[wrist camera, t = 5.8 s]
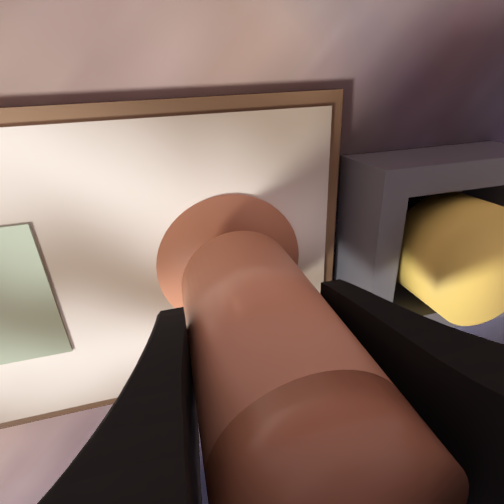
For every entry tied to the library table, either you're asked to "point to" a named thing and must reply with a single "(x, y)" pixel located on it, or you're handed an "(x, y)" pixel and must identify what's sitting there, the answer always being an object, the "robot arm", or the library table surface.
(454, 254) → the button
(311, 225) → the colouring board
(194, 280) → the brown cylinder
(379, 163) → the button base
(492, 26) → the library table surface
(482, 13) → the library table surface
